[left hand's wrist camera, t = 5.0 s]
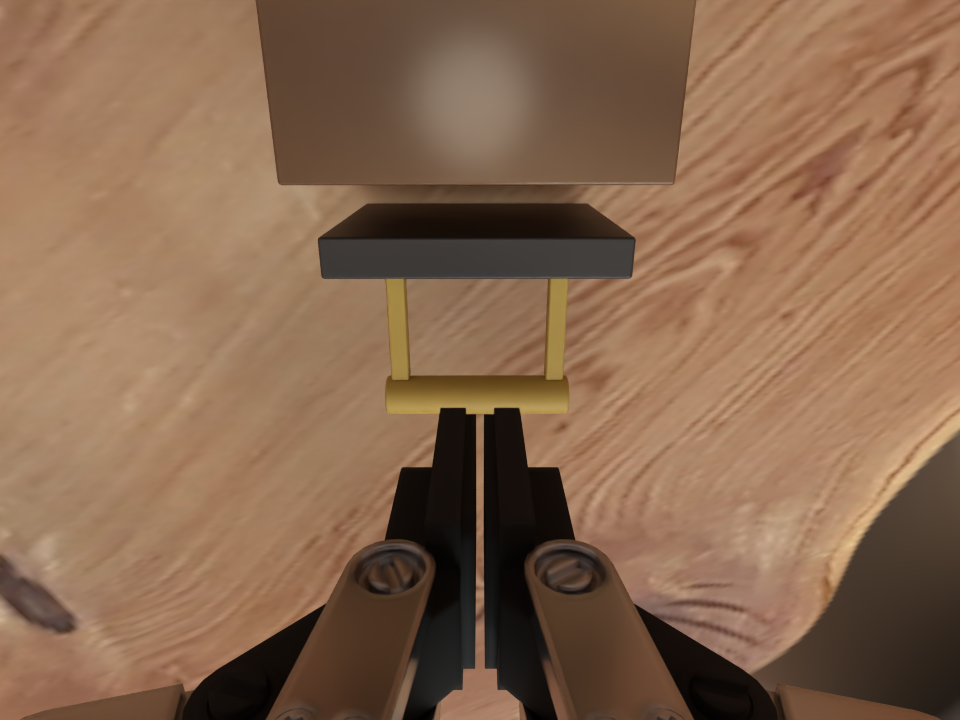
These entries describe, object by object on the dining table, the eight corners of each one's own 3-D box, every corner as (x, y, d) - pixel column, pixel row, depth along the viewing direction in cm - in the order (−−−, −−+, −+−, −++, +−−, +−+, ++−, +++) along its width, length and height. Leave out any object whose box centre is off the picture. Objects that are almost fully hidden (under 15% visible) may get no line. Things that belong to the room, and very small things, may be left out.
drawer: (578, 355, 26) (616, 442, 19) (376, 355, 26) (337, 443, 19) (628, -389, 18) (733, -753, 10) (324, -390, 17) (216, -753, 10)
